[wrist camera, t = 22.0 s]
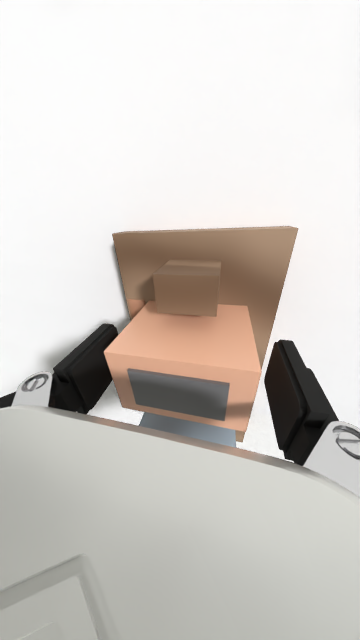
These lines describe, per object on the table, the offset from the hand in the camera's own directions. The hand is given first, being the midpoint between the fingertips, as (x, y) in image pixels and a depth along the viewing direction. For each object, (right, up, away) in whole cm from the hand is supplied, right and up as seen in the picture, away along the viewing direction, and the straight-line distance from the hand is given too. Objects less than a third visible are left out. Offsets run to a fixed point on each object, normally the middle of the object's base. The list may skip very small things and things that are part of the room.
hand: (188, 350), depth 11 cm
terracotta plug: (+1, +1, +2) cm, 2 cm away
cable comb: (+1, -1, +5) cm, 6 cm away
